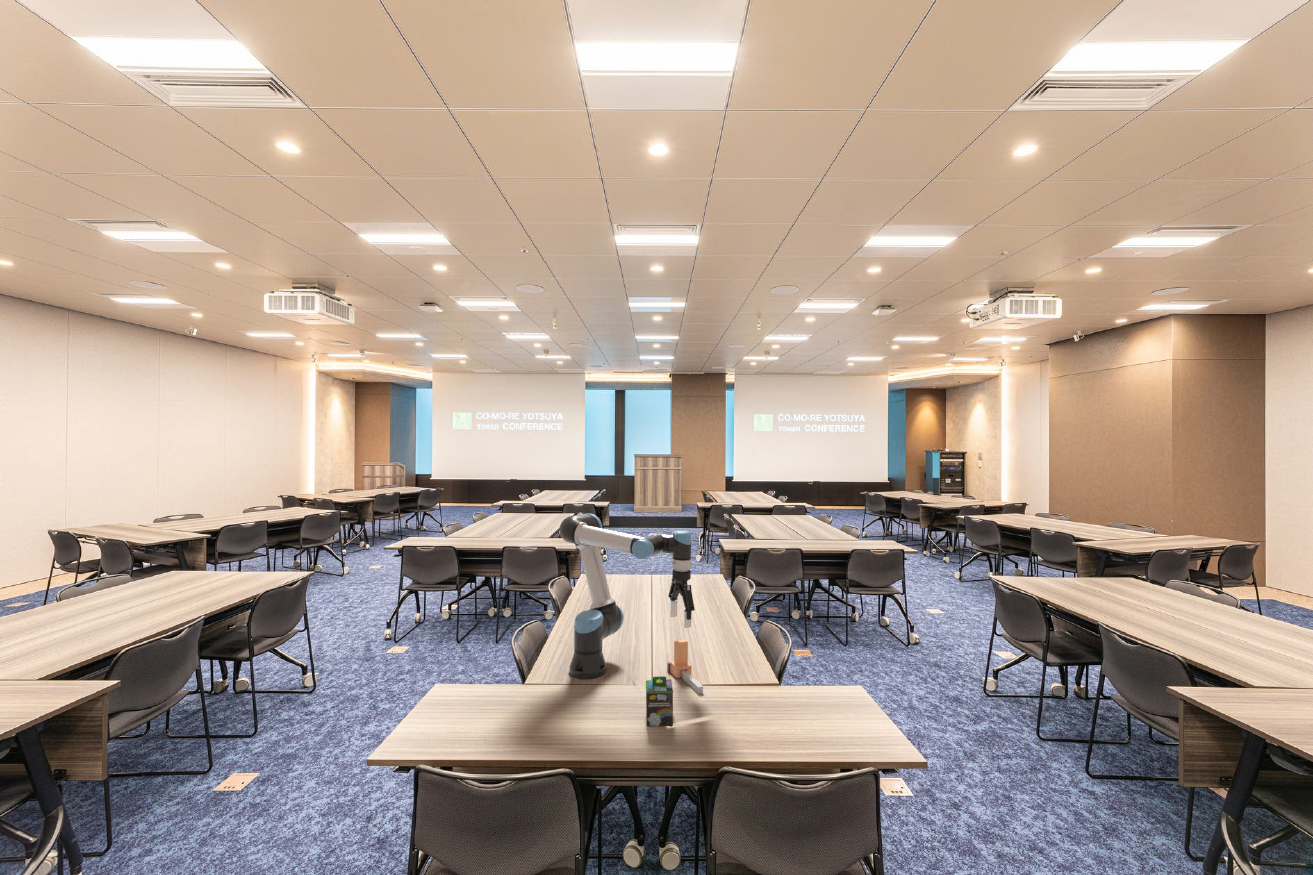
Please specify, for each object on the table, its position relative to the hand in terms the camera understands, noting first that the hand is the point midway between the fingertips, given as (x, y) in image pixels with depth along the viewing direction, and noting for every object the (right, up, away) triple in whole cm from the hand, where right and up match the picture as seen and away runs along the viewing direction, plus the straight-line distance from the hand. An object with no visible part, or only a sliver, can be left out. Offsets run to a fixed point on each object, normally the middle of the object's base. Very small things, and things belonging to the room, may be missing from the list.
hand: (680, 621), depth 201 cm
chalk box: (-9, -21, -34) cm, 41 cm away
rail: (+2, -22, -7) cm, 23 cm away
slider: (0, -21, -1) cm, 21 cm away
